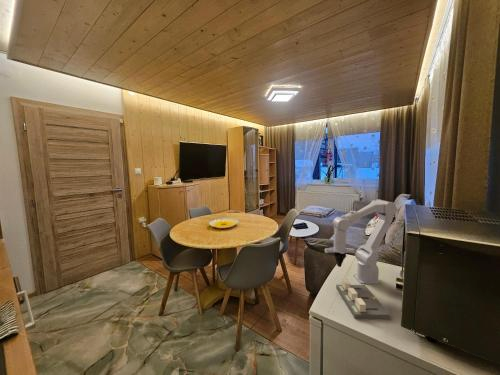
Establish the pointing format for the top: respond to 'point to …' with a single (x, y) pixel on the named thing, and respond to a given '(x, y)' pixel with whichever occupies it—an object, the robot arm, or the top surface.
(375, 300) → the breaker panel
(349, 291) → the breaker
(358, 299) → the block
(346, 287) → the block
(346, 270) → the top surface
